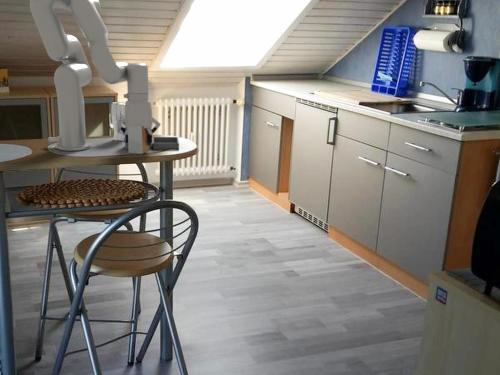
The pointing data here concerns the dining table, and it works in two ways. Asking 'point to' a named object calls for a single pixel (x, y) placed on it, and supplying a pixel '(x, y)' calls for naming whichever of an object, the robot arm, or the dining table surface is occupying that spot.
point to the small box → (138, 139)
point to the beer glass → (118, 119)
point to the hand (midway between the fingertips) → (139, 144)
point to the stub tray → (165, 143)
